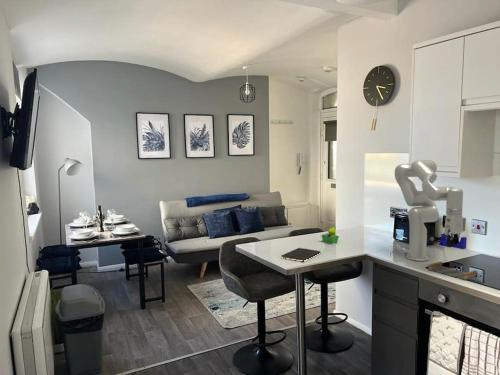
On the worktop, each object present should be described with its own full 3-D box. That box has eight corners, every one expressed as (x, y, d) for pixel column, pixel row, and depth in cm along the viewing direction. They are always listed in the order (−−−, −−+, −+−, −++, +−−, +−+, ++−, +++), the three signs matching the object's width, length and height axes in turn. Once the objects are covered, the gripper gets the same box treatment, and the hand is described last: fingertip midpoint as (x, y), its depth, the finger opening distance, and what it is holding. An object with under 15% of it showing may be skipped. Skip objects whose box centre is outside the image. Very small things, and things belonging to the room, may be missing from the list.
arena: (428, 270, 208) (428, 264, 208) (439, 266, 214) (440, 261, 214) (465, 280, 191) (465, 274, 191) (476, 276, 197) (476, 270, 197)
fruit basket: (320, 241, 276) (320, 226, 275) (329, 240, 281) (329, 225, 280) (331, 245, 267) (332, 229, 266) (340, 243, 272) (340, 227, 271)
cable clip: (439, 245, 205) (439, 234, 205) (443, 244, 208) (444, 233, 207) (461, 249, 195) (462, 238, 195) (466, 248, 198) (466, 237, 197)
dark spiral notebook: (280, 259, 236) (280, 255, 235) (298, 251, 254) (298, 247, 254) (303, 263, 226) (303, 259, 226) (320, 254, 245) (320, 251, 245)
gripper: (452, 214, 192) (450, 249, 194) (469, 211, 201) (468, 244, 203) (438, 212, 198) (436, 246, 200) (455, 209, 207) (454, 241, 209)
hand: (452, 245), depth 201 cm, fingers closed on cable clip, 4 cm apart
